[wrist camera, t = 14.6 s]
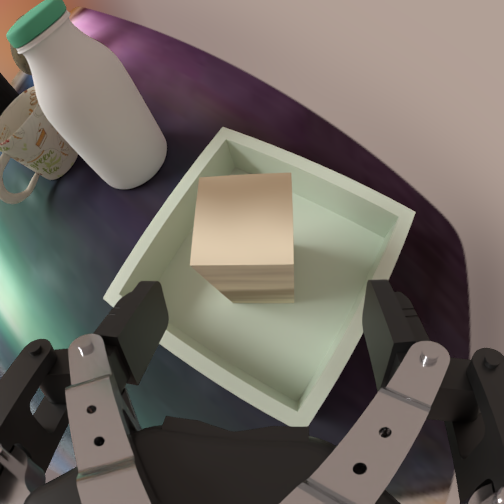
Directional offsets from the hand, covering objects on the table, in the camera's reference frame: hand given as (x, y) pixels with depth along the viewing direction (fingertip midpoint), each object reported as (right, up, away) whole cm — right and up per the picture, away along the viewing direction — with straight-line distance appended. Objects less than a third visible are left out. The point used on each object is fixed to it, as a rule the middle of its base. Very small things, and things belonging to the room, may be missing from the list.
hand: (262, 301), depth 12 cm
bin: (+1, 0, +13) cm, 13 cm away
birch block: (0, 0, +12) cm, 12 cm away
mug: (-25, +11, +20) cm, 34 cm away
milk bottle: (-13, +11, +19) cm, 25 cm away
